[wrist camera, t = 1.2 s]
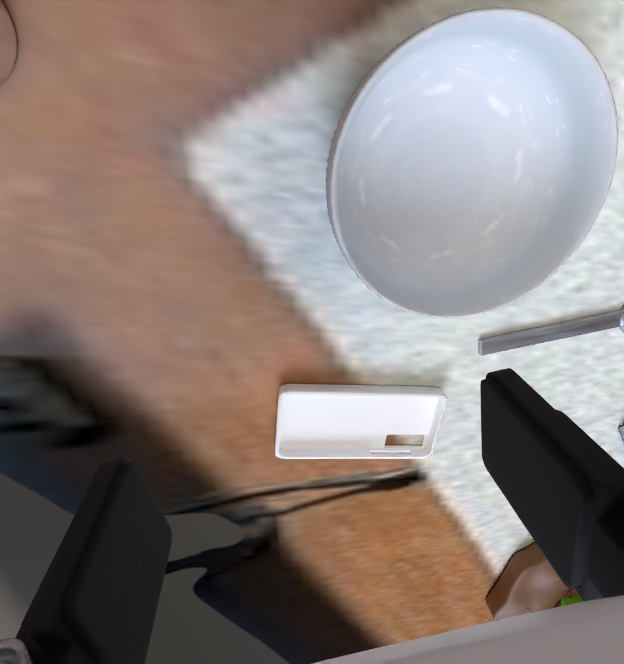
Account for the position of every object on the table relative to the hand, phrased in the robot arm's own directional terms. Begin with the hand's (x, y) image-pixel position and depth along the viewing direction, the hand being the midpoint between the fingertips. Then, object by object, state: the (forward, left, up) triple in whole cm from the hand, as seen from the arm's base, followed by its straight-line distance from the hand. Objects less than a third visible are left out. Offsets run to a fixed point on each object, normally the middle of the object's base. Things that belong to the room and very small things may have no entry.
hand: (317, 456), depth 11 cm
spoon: (+12, +25, -22) cm, 35 cm away
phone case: (+17, +4, -22) cm, 28 cm away
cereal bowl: (-3, +12, -22) cm, 25 cm away
